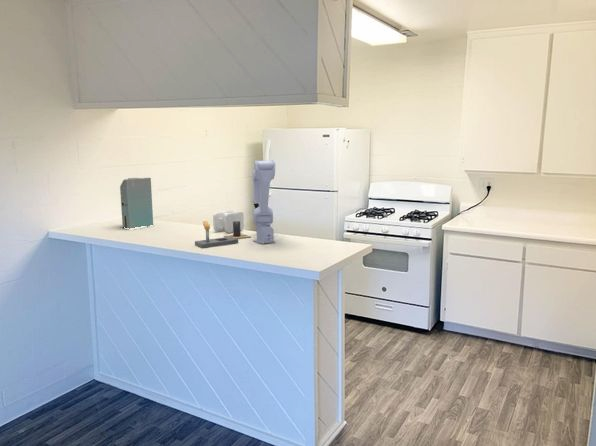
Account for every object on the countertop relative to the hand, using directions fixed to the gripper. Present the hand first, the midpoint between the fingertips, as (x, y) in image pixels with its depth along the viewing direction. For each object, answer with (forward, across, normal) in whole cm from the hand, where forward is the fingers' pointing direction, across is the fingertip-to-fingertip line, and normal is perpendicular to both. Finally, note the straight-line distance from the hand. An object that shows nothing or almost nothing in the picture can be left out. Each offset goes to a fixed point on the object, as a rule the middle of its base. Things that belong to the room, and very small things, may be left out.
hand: (259, 217), depth 270 cm
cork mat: (+10, +2, -13) cm, 16 cm away
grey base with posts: (+10, +18, -24) cm, 31 cm away
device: (+11, -40, -70) cm, 82 cm away
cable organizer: (+11, -16, -16) cm, 26 cm away
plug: (+10, +2, -13) cm, 16 cm away
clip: (+2, +15, -29) cm, 32 cm away
